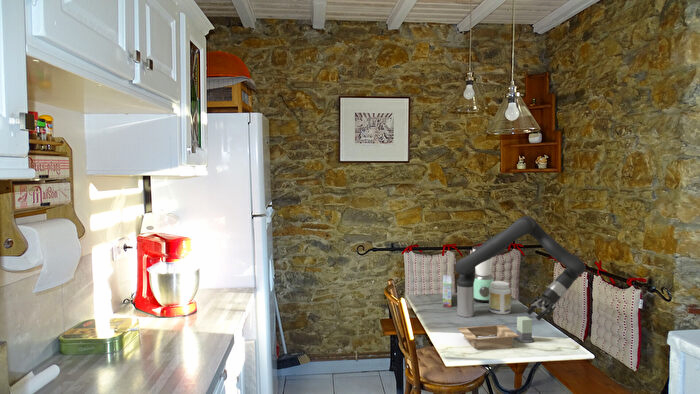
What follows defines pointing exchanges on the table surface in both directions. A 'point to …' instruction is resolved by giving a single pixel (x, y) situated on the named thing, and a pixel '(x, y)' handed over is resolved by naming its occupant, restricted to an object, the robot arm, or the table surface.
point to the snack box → (447, 291)
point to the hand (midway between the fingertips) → (532, 316)
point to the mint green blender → (482, 280)
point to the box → (524, 328)
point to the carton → (501, 331)
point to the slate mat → (524, 340)
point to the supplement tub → (499, 297)
